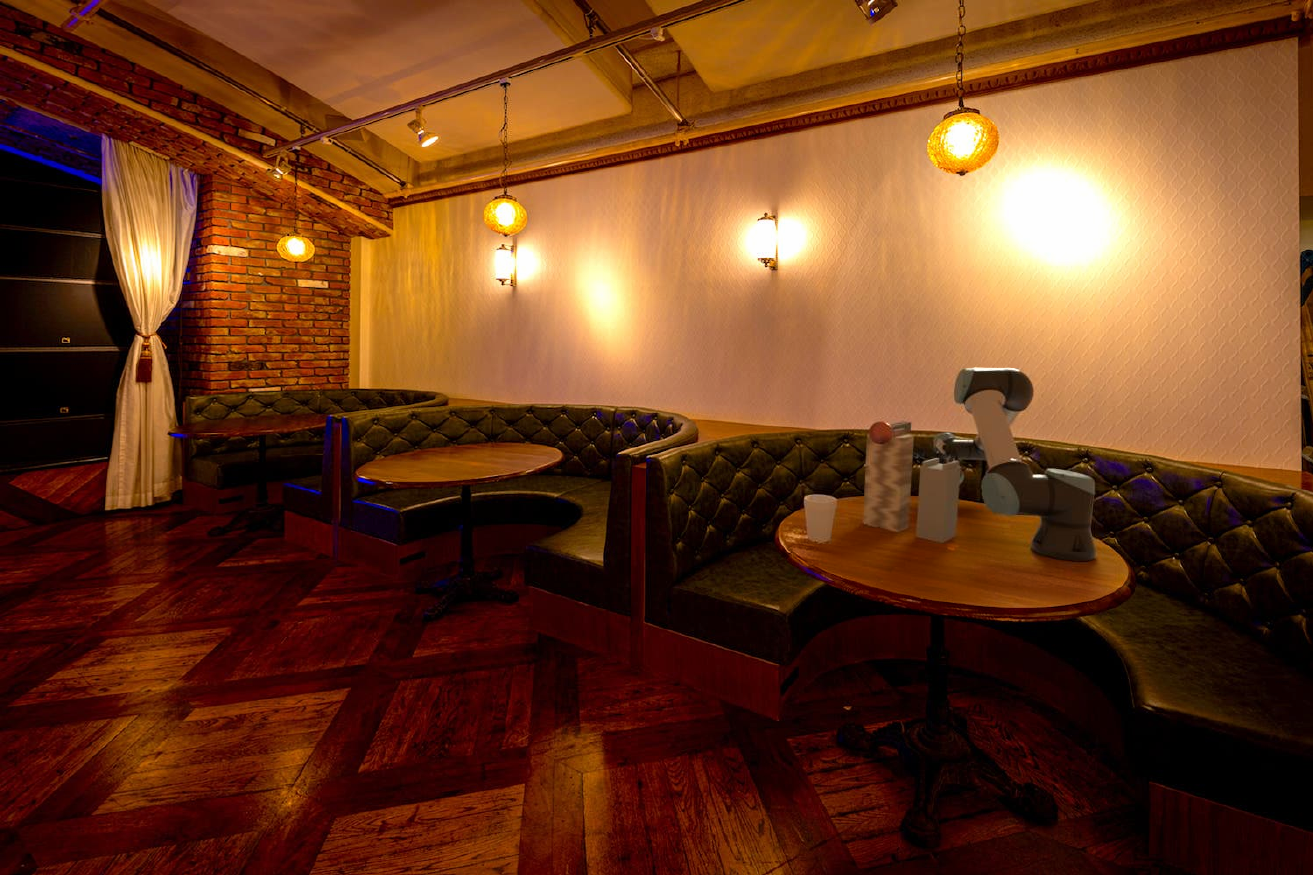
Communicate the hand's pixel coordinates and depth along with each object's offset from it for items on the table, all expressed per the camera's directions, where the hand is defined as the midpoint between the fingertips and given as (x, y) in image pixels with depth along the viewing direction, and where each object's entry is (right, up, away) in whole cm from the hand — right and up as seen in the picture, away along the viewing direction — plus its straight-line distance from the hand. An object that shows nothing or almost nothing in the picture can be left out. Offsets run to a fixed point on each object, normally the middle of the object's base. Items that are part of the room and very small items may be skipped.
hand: (917, 440), depth 202 cm
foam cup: (-40, -31, -22) cm, 55 cm away
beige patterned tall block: (-14, -28, -8) cm, 32 cm away
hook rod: (-13, 0, -11) cm, 16 cm away
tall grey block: (-3, -30, -20) cm, 36 cm away
